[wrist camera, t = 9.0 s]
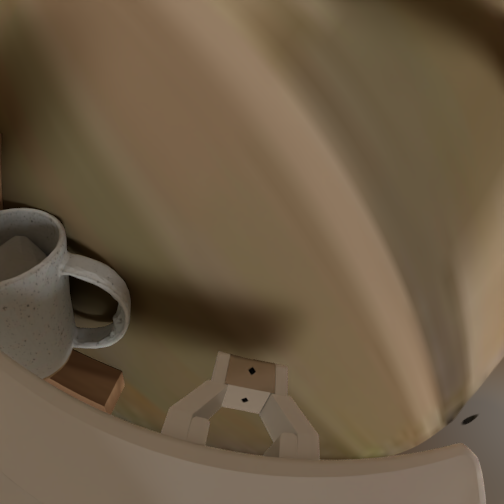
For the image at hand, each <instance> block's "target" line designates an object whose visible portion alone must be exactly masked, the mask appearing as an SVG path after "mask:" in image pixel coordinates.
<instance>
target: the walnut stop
mask: <svg viewBox="0 0 504 504" xmlns="http://www.w3.org/2000/svg"><path fill="white" fill-rule="evenodd" d="M1 143H2V134H0V211H1V210H3V201H2V185H1ZM45 381H46V382H48V383H50V384H51V385H53V386H55V387H56V388H58V389H60V390H62V391H64V392H65V393H67V394H69V395H71V396H73V397H75V398H77V399H79V400H80V401H82V402H84V403H86V404H89V405H91V406H93V407H95V408H97V409H99V410H101V411H104V412H106V413H108V414H110V415H111V413H112V411H113V409H114V407H115V405H116V403H117V400H118V398H119V396H120V394H121V392H122V390H123V388H124V386H125V383H124V378H123V373H122V371H120V370H117V369H115V368H112V367H110V366H108V365H105V364H103V363H101V362H98V361H96V360H94V359H92V358H89V357H87V356H85V355H83V354H81V353H79V352H77V351H75V350H72V353H71V355H70V357H69V359H68V361H67V363H66V364H65V365H64V366H63V368H62V369H61V370H59V371H58V372H57V373H55V374H54V375H53V376H51V377H50V378H48V379H46V380H45Z"/></svg>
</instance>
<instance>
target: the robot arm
mask: <svg viewBox="0 0 504 504" xmlns="http://www.w3.org/2000/svg"><path fill="white" fill-rule="evenodd" d="M221 406H222V407H227V408H232V409H238V410H243V411H247V412H252V413H257V414H259V415H260V417H261V419H262V421H263V423H264V425H265V427H266V429H267V431H268V433H269V435H270V437H271V439H272V441H273V444H272V445H271V446H270V447H269V448H268V450H267V451H266V452H265V453H264V456H261V455H253V454H246V453H240V452H234V451H229V450H224V449H219V448H214V447H209V446H205V444H206V439H207V434H208V430H209V425H210V422H209V421H208V419H209V418H210V417H211V416H212V415H214V414H215V413H216V412H217V411H218V410H219V409H220V408H221ZM0 504H486V497H485V489H484V482H483V476H482V471H481V466H480V463H479V460H478V458H477V456H476V455H475V454H474V453H473V452H472V451H471V450H470V449H469V448H468V447H467V446H466V445H464V444H463V443H457V444H453V445H449V446H445V447H441V448H436V449H432V450H427V451H422V452H416V453H410V454H404V455H397V456H389V457H380V458H368V459H351V460H320V454H319V435H318V433H317V432H316V431H315V429H314V428H313V427H312V425H311V424H310V422H309V421H308V420H307V418H306V417H305V415H304V414H303V413H302V411H301V410H300V409H299V407H298V406H297V404H296V403H295V401H294V400H293V399H292V397H291V396H288V367H287V366H286V365H281V364H275V363H270V362H265V361H260V360H255V359H249V358H245V357H241V356H237V355H233V354H228V353H224V352H221V351H219V352H218V354H217V358H216V362H215V366H214V370H213V374H212V378H211V381H210V380H207V381H205V382H204V383H203V384H201V385H200V386H199V387H197V388H196V389H195V390H193V391H192V392H191V393H189V394H188V395H187V396H185V397H184V398H182V399H181V400H180V401H178V402H177V403H175V404H174V405H173V406H171V407H170V408H169V411H168V414H167V417H166V419H165V422H164V425H163V428H162V431H161V433H158V432H155V431H152V430H149V429H146V428H143V427H141V426H138V425H135V424H133V423H130V422H127V421H125V420H122V419H120V418H117V417H115V416H113V415H110V414H108V413H106V412H104V411H101V410H99V409H97V408H95V407H93V406H91V405H89V404H86V403H84V402H82V401H80V400H79V399H77V398H75V397H73V396H71V395H69V394H67V393H65V392H64V391H62V390H60V389H58V388H56V387H55V386H53V385H51V384H50V383H48V382H46V381H45V380H43V379H41V378H40V377H38V376H37V375H35V374H34V373H32V372H31V371H29V370H28V369H26V368H25V367H23V366H22V365H20V364H19V363H17V362H16V361H15V360H13V359H12V358H11V357H9V356H8V355H7V354H5V353H4V352H3V351H1V350H0Z"/></svg>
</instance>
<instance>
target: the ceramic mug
mask: <svg viewBox="0 0 504 504" xmlns="http://www.w3.org/2000/svg"><path fill="white" fill-rule="evenodd" d="M69 275H70V276H73V277H76V278H78V279H81V280H84V281H87V282H89V283H92V284H94V285H96V286H99V287H100V288H102V289H104V290H105V291H107V292H108V293H109V294H111V296H112V297H113V298H114V299H115V300H116V301H118V308H117V312H116V314H115V315H114V316H113V323H112V324H110V325H108V326H105V327H98V328H79V327H76V326H75V321H74V314H73V308H72V302H71V297H70V286H69ZM130 309H131V299H130V293H129V290H128V288H127V285H126V283H125V282H124V280H123V279H122V278H121V277H120V276H119V275H118V274H117V273H116V272H115V271H114V270H113V269H111V268H110V267H109V266H107V265H106V264H104V263H102V262H100V261H97V260H94V259H91V258H88V257H86V256H83V255H79V254H74V253H71V252H68V251H67V241H66V233H65V229H64V227H63V225H62V223H61V222H60V220H58V219H57V218H56V217H54V216H53V215H51V214H49V213H47V212H44V211H41V210H38V209H32V208H31V209H30V208H13V209H7V210H1V211H0V350H1V351H3V352H4V353H5V354H7V355H8V356H9V357H11V358H12V359H13V360H15V361H16V362H17V363H19V364H20V365H22V366H23V367H25V368H26V369H28V370H29V371H31V372H32V373H34V374H35V375H37V376H38V377H40V378H41V379H43V380H46V379H48V378H50V377H51V376H53V375H54V374H55V373H57V372H58V371H59V370H61V369H62V368H63V366H64V365H65V364H66V363H67V361H68V359H69V357H70V355H71V353H72V350H73V347H78V348H102V347H108V346H110V345H112V344H114V343H116V342H117V341H119V340H120V339H121V338H122V337H123V336H124V334H125V333H126V331H127V329H128V326H129V322H130Z"/></svg>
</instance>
